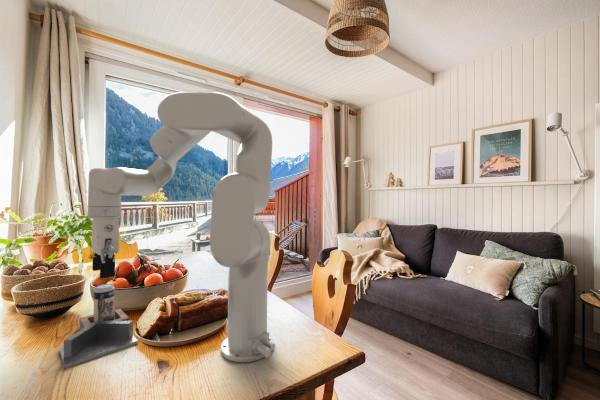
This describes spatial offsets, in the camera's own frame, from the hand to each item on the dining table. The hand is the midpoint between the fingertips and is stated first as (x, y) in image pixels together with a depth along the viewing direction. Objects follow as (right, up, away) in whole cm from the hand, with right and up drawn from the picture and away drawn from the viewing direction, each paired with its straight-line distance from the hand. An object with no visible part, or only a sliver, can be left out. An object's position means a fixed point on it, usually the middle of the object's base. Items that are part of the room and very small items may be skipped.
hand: (103, 273), depth 75 cm
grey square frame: (0, -16, 0) cm, 16 cm away
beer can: (0, -16, 0) cm, 16 cm away
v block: (+6, -16, -10) cm, 19 cm away
